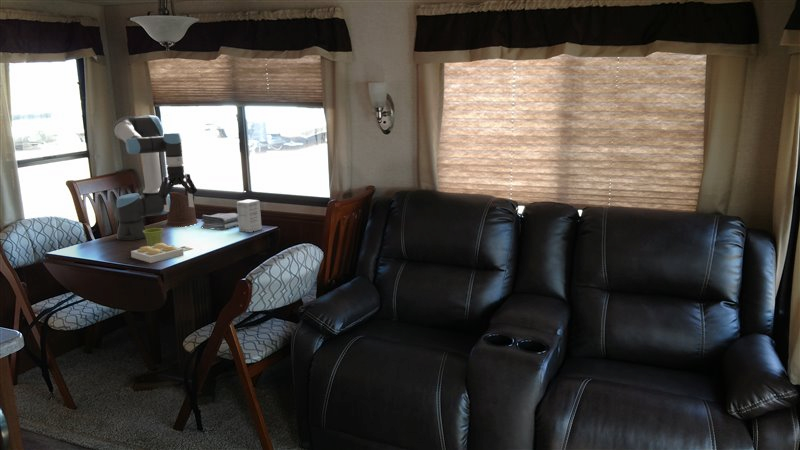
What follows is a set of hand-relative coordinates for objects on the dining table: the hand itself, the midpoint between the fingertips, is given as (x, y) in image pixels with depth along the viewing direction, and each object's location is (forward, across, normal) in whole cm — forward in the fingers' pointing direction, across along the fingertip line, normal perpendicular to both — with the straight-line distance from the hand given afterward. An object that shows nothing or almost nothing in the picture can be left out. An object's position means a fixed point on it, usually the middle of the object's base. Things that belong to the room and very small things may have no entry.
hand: (179, 209), depth 292 cm
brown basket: (+21, +41, +58) cm, 74 cm away
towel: (+22, +47, +31) cm, 60 cm away
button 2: (+20, -16, 0) cm, 25 cm away
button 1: (+20, -15, +8) cm, 26 cm away
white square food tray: (+21, -12, +4) cm, 25 cm away
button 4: (+20, -8, 0) cm, 21 cm away
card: (+21, +2, +4) cm, 22 cm away
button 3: (+20, -8, +7) cm, 23 cm away
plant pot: (+21, -2, +22) cm, 30 cm away
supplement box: (+21, +50, +9) cm, 55 cm away
